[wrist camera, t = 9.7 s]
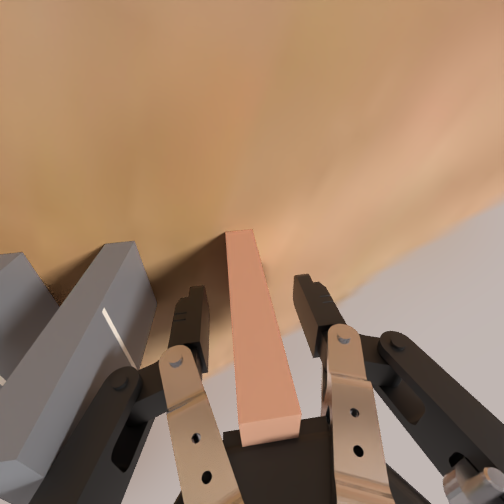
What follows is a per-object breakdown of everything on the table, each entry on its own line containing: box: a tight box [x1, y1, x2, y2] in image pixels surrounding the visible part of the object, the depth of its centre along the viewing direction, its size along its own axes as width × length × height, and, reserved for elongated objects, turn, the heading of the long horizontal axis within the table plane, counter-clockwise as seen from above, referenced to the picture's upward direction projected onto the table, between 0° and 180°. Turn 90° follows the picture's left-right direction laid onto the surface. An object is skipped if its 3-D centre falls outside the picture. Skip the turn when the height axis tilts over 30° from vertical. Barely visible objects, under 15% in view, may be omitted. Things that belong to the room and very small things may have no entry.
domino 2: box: [0, 241, 157, 504], centre depth 11 cm, size 2×5×10 cm, turn 3°
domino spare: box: [225, 229, 302, 447], centre depth 12 cm, size 2×5×10 cm, turn 3°
